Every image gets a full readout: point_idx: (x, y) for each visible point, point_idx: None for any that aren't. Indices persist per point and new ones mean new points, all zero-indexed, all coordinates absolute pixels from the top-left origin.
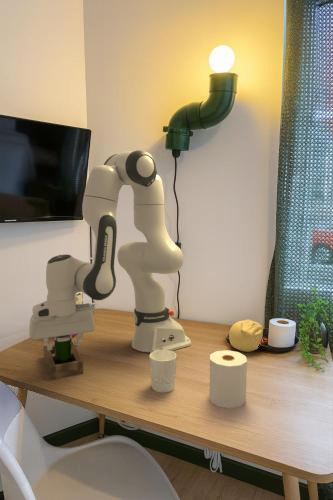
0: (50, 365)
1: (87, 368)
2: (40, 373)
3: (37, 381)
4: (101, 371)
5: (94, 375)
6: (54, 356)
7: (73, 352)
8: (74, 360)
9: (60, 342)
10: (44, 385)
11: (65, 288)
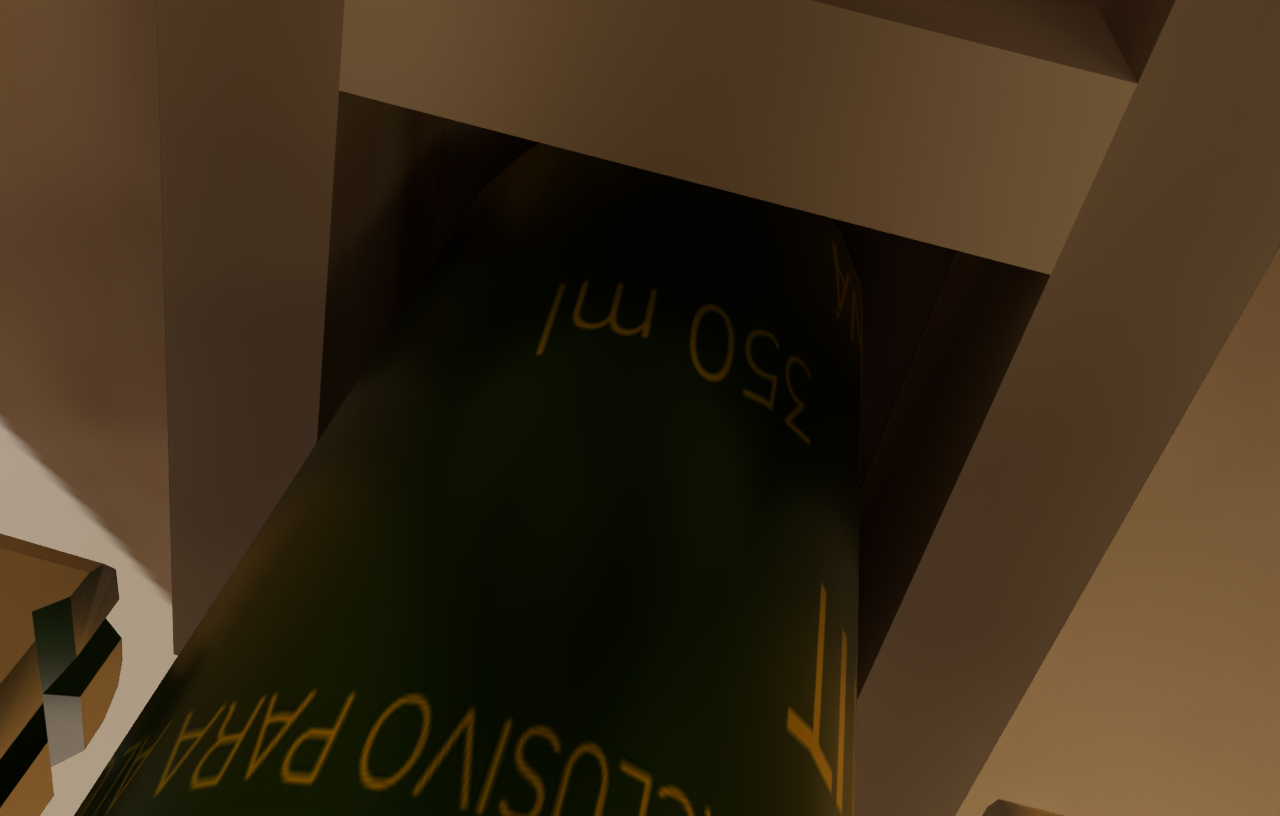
0: (196, 573)
1: (1142, 510)
2: (130, 73)
3: (56, 370)
4: (1262, 759)
5: (1050, 786)
6: (414, 102)
7: (1102, 243)
8: (938, 429)
9: None
10: (168, 561)
11: None
